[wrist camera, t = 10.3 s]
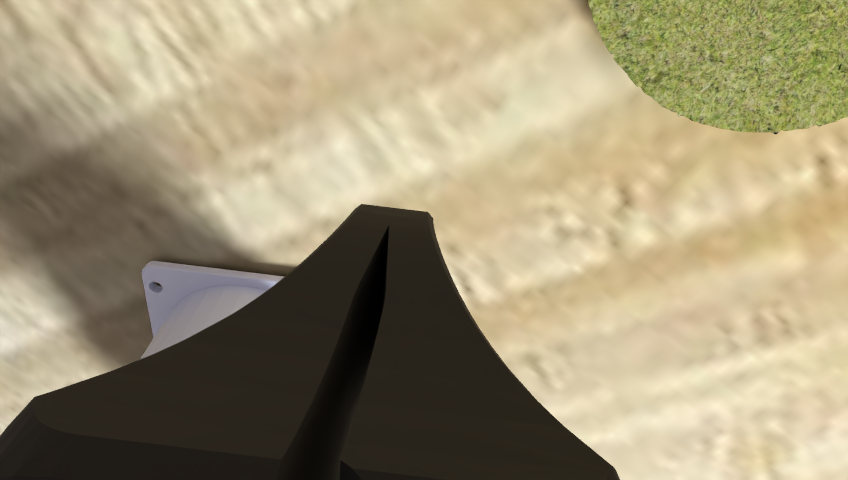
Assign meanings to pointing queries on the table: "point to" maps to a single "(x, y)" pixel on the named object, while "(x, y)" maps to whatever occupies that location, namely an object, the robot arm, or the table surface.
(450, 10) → the table surface
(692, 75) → the green disc with hole
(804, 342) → the table surface
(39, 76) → the table surface
